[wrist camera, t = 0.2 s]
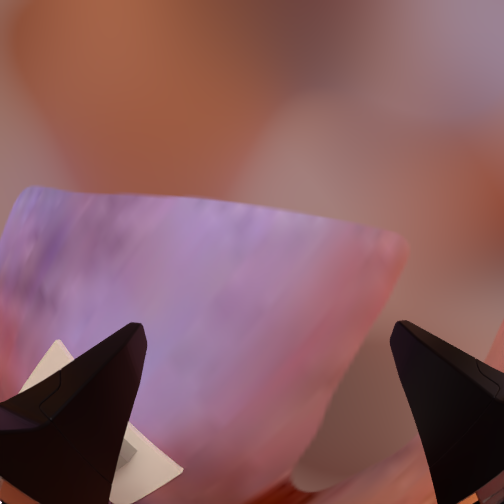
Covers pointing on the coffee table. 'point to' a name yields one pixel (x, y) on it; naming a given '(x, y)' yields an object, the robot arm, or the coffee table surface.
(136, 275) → the coffee table surface
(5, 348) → the coffee table surface
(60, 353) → the well
